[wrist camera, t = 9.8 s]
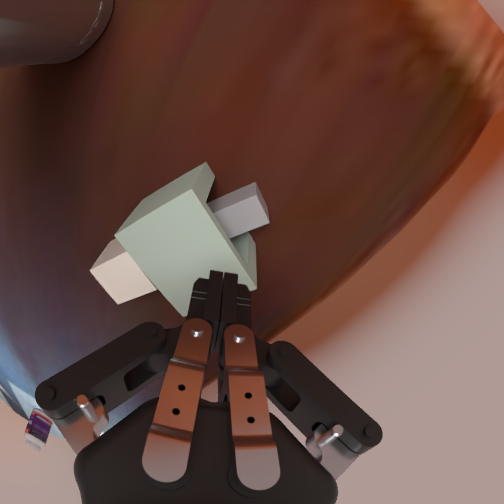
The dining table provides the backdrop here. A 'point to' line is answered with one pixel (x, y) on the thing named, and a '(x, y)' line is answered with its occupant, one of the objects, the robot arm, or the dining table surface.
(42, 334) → the dining table surface
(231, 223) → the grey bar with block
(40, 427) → the pill bottle
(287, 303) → the dining table surface
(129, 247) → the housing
